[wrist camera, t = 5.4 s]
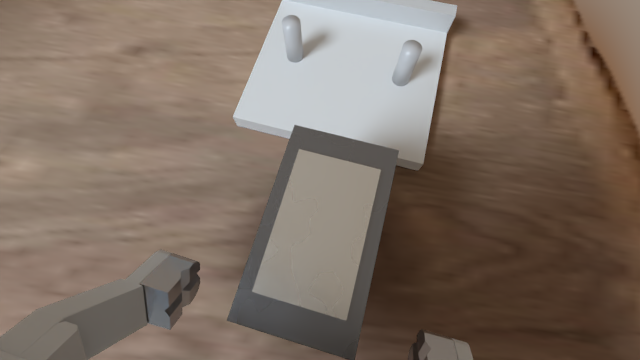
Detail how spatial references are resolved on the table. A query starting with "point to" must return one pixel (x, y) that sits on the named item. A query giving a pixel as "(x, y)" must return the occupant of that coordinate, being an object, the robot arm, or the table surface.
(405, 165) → the white pegged base
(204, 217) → the table surface
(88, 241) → the table surface
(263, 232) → the block
